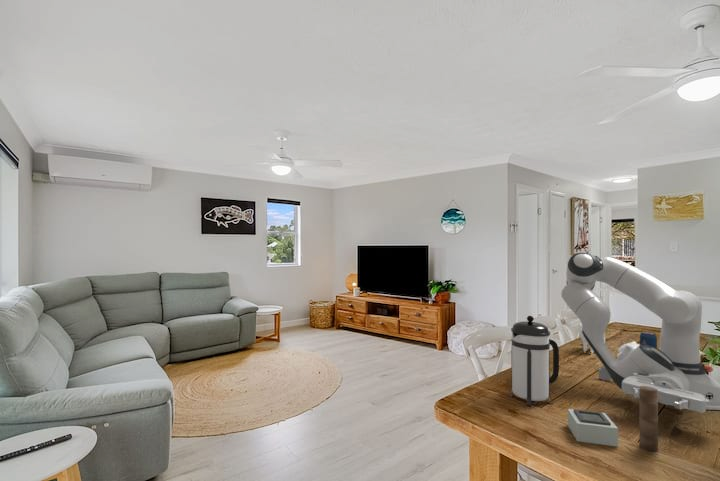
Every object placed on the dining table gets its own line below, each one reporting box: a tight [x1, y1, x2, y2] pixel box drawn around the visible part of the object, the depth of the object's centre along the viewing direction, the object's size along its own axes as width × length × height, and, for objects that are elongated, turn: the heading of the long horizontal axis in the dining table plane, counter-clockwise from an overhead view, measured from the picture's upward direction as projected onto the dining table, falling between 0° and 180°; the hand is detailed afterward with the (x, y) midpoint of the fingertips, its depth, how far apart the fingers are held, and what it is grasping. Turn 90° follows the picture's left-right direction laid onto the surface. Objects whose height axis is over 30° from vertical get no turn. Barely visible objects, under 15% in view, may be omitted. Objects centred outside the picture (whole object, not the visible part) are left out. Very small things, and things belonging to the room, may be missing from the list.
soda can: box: [639, 331, 658, 349], centre depth 191 cm, size 7×7×12 cm
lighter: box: [598, 366, 612, 382], centre depth 154 cm, size 7×2×8 cm, turn 56°
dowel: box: [638, 386, 659, 453], centre depth 102 cm, size 4×4×16 cm
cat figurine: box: [578, 321, 607, 354], centre depth 197 cm, size 25×10×17 cm, turn 135°
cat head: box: [616, 340, 640, 362], centre depth 168 cm, size 15×13×12 cm
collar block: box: [567, 408, 619, 448], centre depth 108 cm, size 10×10×6 cm
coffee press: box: [507, 315, 560, 408], centre depth 135 cm, size 17×16×30 cm
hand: (657, 400), depth 110 cm, fingers open, 8 cm apart
